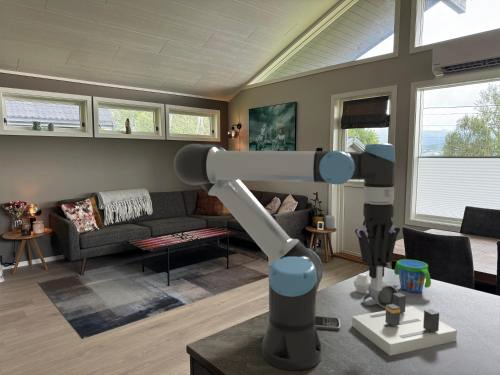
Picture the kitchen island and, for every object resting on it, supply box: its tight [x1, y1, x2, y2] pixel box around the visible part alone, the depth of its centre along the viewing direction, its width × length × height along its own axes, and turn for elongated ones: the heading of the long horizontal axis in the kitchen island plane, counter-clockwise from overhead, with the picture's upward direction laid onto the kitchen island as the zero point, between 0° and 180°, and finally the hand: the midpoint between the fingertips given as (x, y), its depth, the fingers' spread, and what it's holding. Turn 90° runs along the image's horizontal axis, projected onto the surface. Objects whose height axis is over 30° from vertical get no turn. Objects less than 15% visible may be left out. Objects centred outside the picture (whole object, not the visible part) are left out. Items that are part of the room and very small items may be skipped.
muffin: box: [353, 272, 371, 294], centre depth 128 cm, size 6×6×7 cm
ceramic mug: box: [361, 280, 399, 309], centre depth 117 cm, size 11×8×8 cm
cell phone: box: [315, 315, 341, 331], centre depth 103 cm, size 6×11×1 cm, turn 79°
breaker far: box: [392, 292, 407, 313], centre depth 104 cm, size 2×3×5 cm
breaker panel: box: [351, 305, 458, 356], centre depth 98 cm, size 22×16×3 cm
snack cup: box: [393, 259, 432, 293], centre depth 130 cm, size 16×10×10 cm
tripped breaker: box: [385, 304, 400, 326], centre depth 96 cm, size 3×3×5 cm
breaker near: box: [423, 308, 440, 333], centre depth 93 cm, size 2×3×5 cm
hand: (376, 288), depth 93 cm, fingers closed
